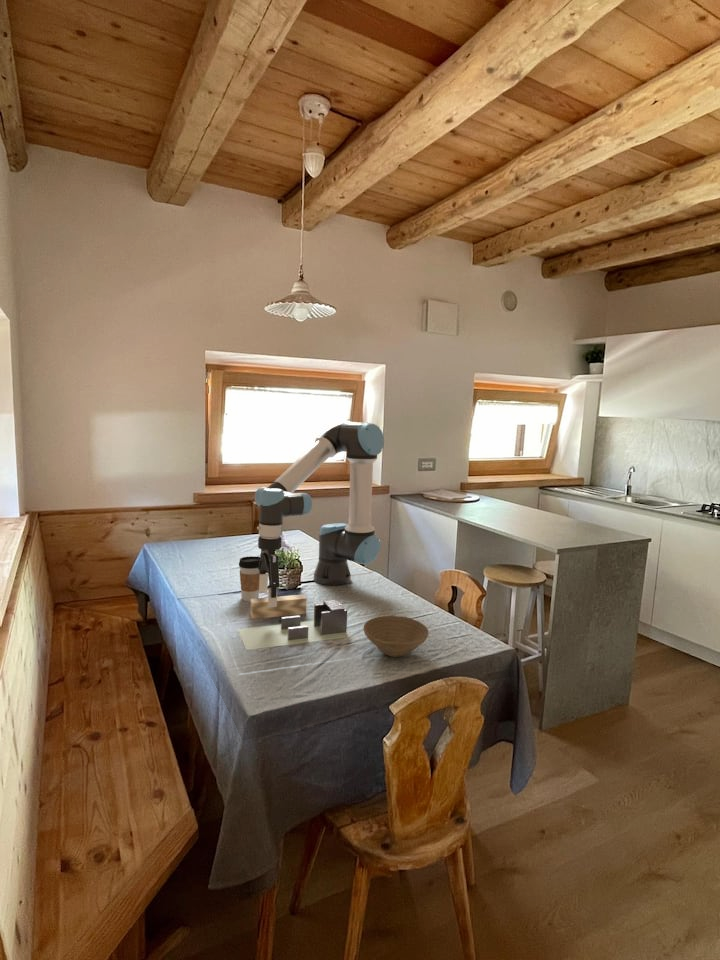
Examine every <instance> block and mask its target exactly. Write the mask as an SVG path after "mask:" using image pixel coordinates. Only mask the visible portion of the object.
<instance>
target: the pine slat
mask: <svg viewBox="0 0 720 960" xmlns="http://www.w3.org/2000/svg"><path fill="white" fill-rule="evenodd" d="M307 602H308V600H307V597H306V596H305V595H304V594H294V595H293V594H291V595H282V596H281V595H280V596H277V607H268V597H258V598H256V599H251V601H250V607H249V609H250V610H249V612H250V613H249V615H250V617H251V619H252V620H256V619H258V620H259V619H267V618H277V617H288V616H298V615H307Z"/></svg>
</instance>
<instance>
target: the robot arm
mask: <svg viewBox="0 0 720 960" xmlns="http://www.w3.org/2000/svg"><path fill="white" fill-rule="evenodd" d="M384 445H385V437H384V433H383V430H382V429H380V426H379V425H377V424H375V423H371V422H363V421H361V422H360V421H358V422H357V421H348V420H346V421H344V420H343V421H339V422H337V423H335V424H333V425H332V426H330V427H328V428H326V429H325V430H324V431H323V432H321V433H320V434H319V435H318V436H317V437H316V438H315V440H314V444H312V445H311V447H309V448H308V449H307V450H306V451H305V452H304V453H303V454H302V455H301V456H300V457H299V458H298V459H297V460H296V461H294V462H293V463H292V464H291V465H290V466H289V467H288V468H286V470H285V471H284V472H283V473H282V474H280V476H279V477H277V478H276V479H275V480H274V481H273V482H272V483H271V484H269V486H261V487H259V488H258V489H257V490H256V491H255V493H254V502H255V504H256V505H257V506H258V507H259V509H258V510H259V511H258V513H259V514H258V515H259V517H258V526H257V527H256V529H257V530H258V536H259V537H258V539H257V547H258V549H259V550H260V555H259V557H260V561H259V567H258V570H259V573H261V574H260V578H259V594H267V598H268V607H277V597H278V589H279V588H280V587H281V585H280V572H279V571H280V570H279V555H277V554H276V551H278V550H280V549H282V536H283V519H284V518H287V517H296V516H297V517H298V516H302V515H303V516H304V515H307V514H309V513H310V512H311V511H312V509H313V499H312V496H310V494H309V493H306V492H295V491H297V489H298V488H299V487H300V486H301V485H302V484H303V483H304V482H306V480H307V479H308V478H310V476H311V475H312V474H314V472H315V471H317V470H318V469H319V468H320V467H321V466H322V465H323V464H324V463H325V462H326V461H327V459H328V460H329V459H330V458H334V457H335V456H336V455H337V454H338V453H341V452H345V453H346V460H348V462H349V467H350V468H349V501H348V503H349V504H348V510H349V511H348V523H340V522H339V523H327V524H323V525H322V526H321V527H320V530H319V535H318V536H319V537H318V539H319V540H318V541H319V543H318V562H317V564H316V568H315V570H314V572H313V581H314V582H316V583H317V584H320V585H321V584H322V585H325V586H326V585H327V586H341V585H340V584H343V585H345V584H344V583H346V584H348V583H347V582H349V581H350V582H351V580H350V579H351V578H352V577H351V576H352V574H351V572H350V571H351V570H350V567H349V563H348V561H350V562H354V563H356V564H360V565H369V564H371V563H373V562H374V561H375V560H376V558H377V557H378V556H379V554H380V551H381V540H380V538H379V537H378V536H376V535H375V531H376V529H375V527H374V526H373V525H372V504H373V497H372V496H373V474H374V473H373V470H374V462H375V461H376V460H377V459H378V455H379V454H381V453H382V451H383V449H384ZM350 582H349V583H350ZM268 583H269V584H268Z"/></svg>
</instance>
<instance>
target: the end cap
mask: <svg viewBox="0 0 720 960" xmlns="http://www.w3.org/2000/svg"><path fill="white" fill-rule="evenodd" d="M313 606H314V610H313V611H314V612H313V613H314V614H313V621H314V626H315V627H316V626H321V627H320V634H321V635H327V634H335V633H344V632H346V631H347V628H348V609H346V607H345V606H343V604H342V603H340V601H337V600H336V599H330V600H323V603H322V602H321V603H315V604H314V605H313ZM347 632H348V631H347Z"/></svg>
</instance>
